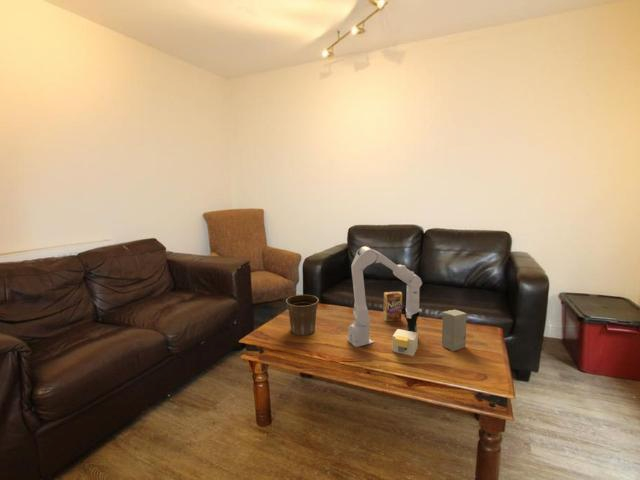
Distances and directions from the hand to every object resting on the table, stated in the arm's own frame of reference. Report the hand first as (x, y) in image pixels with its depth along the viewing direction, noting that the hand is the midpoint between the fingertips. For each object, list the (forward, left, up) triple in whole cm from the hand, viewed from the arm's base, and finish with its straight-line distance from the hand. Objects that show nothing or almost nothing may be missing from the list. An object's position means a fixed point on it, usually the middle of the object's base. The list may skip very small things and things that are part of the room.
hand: (411, 327), depth 149 cm
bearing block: (-10, -7, -5) cm, 13 cm away
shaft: (-7, -5, -4) cm, 10 cm away
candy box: (+5, +22, -5) cm, 23 cm away
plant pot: (-43, +31, -5) cm, 53 cm away
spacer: (-14, -11, 0) cm, 18 cm away
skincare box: (+11, -14, -5) cm, 19 cm away
